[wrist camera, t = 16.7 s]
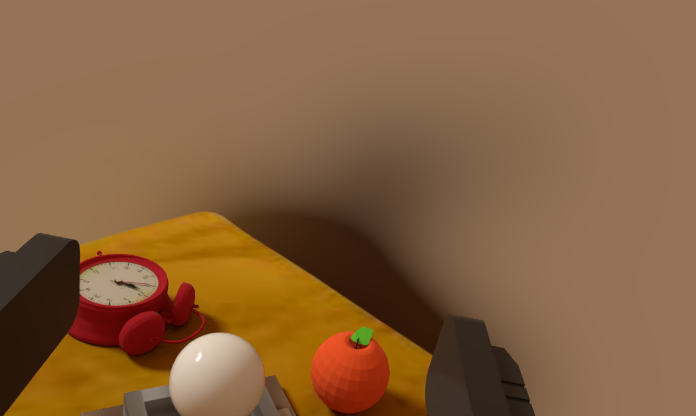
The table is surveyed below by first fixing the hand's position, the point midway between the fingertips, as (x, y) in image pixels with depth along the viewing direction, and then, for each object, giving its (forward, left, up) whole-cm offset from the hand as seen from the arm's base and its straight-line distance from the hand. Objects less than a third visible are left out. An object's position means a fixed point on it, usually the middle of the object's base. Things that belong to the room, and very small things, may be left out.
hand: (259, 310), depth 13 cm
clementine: (-21, -23, -30) cm, 43 cm away
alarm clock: (-5, -38, -31) cm, 49 cm away
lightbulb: (-7, -19, -29) cm, 36 cm away
